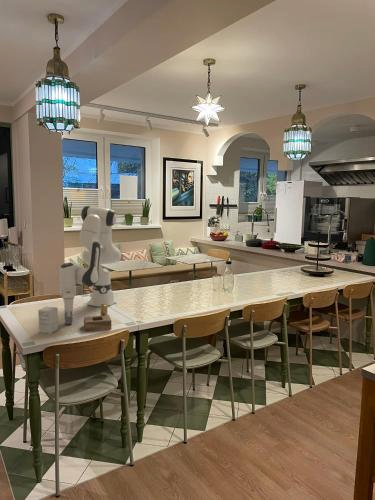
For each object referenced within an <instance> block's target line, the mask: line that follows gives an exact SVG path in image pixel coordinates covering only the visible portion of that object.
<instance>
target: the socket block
mask: <svg viewBox="0 0 375 500" xmlns="http://www.w3.org/2000/svg"><path fill="white" fill-rule="evenodd" d="M83 327H84V330H85V332H95V331H104V330H105V331H106V330H112V319H111V317H110V315H109V314H107V315H104V316H101V315H95V316H84V317H83Z"/></svg>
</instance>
